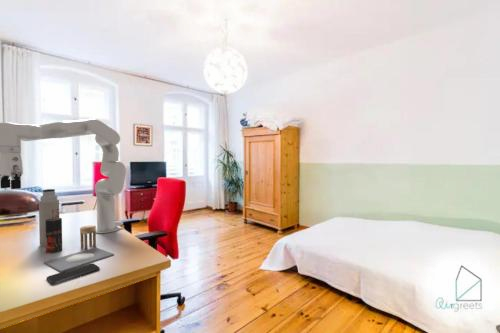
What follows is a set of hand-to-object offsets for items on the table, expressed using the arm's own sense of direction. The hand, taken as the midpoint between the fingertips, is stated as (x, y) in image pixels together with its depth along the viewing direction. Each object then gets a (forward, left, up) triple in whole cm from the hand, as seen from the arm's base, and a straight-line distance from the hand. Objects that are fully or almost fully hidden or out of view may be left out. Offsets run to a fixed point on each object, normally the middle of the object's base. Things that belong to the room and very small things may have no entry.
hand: (10, 188), depth 110 cm
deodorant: (-12, +12, -30) cm, 35 cm away
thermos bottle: (-15, -2, -30) cm, 34 cm away
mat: (-14, +33, -30) cm, 47 cm away
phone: (-6, +47, -31) cm, 56 cm away
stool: (-23, +20, -30) cm, 43 cm away
